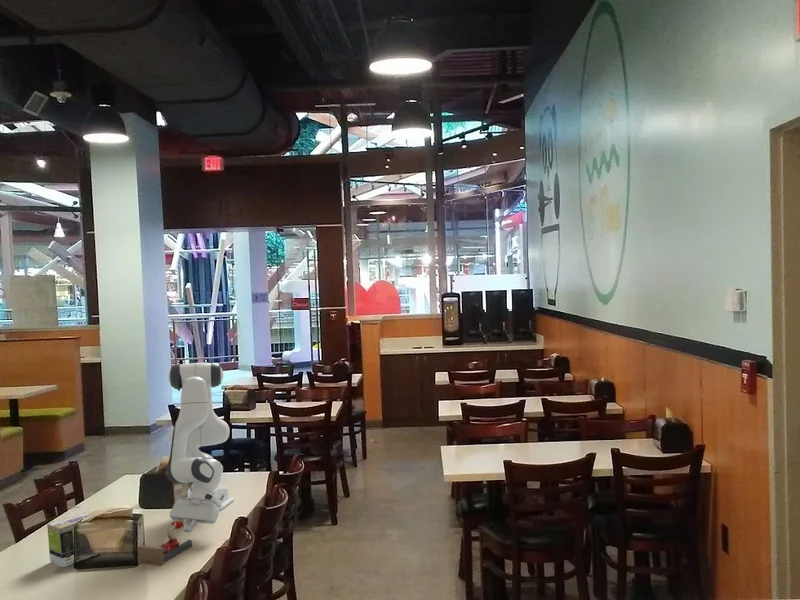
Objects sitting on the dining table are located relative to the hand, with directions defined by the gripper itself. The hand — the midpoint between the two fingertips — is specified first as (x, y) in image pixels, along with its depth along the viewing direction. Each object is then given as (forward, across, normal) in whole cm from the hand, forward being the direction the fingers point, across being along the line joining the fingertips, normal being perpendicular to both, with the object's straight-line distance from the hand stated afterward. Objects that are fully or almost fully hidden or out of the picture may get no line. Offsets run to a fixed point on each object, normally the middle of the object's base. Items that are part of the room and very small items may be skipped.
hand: (186, 531), depth 278 cm
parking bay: (+12, 0, -6) cm, 13 cm away
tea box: (+20, -32, -14) cm, 40 cm away
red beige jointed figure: (+10, 0, -3) cm, 10 cm away
